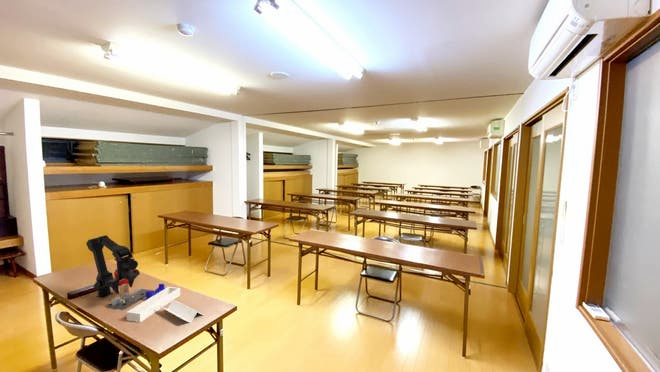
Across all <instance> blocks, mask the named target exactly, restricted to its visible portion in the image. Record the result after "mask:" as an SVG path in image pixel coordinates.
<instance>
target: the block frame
mask: <svg viewBox="0 0 660 372" xmlns="http://www.w3.org/2000/svg"><path fill="white" fill-rule="evenodd" d="M180 296H181V288H180V287H176V286H175V287H174V286H167V287H165V289H164V290H162V291H161V292H159V293H157V294H156V295H154V296H152V297H151V298H149V299H147V300H146V299H145V300H144V301H143V302H141V303H139V304H138V305H136V306H134V307H132V308H131V309H128V311H126V312H125V313H126V320H127V321H130V322H136V323H142V322H143V321H144V320H146V319H148V318H149V317H151V316H152V315H153V314H155V313H156V312H157V311H159V310H161V309H162V308H161V307H164V308H165V306H166V305H168V304H170V303H171V302H172V301H173V300H176V299H177V298H178V297H180ZM159 306H161V307H159Z"/></svg>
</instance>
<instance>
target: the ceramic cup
mask: <svg viewBox="0 0 660 372" xmlns="http://www.w3.org/2000/svg"><path fill="white" fill-rule="evenodd" d="M136 269H137V268H136ZM136 269H134V270H136ZM116 276H118V275H117V272H116V271H115V270H114V271H113V277H114V279H118V278H116ZM119 284H120V286H121V285H123V284H128V285H129V282H128V280H127V279H123V280H121V281H119Z"/></svg>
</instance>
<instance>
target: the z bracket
mask: <svg viewBox="0 0 660 372" xmlns="http://www.w3.org/2000/svg"><path fill="white" fill-rule="evenodd" d="M159 307H161V306H159ZM161 309H163V310H165V311H167V312H169V313H170V314H172V315H173V316H176V317H177V318H179V319H180V320H183V321H186V322H188V323H192V321H193V320H194V318H195V317H196V316H197V313H198V314H200V315H202V316H205V314H203V313H202V312H200V311H198V310H196V309H194V308H192V307H190V306H187V305H186V304H184V303H182V302H179V301H177V300H176V299H174V300H172V301H171V302H169V305H168V306H167V307H165V306H164V307H161Z"/></svg>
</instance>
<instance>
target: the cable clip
mask: <svg viewBox="0 0 660 372" xmlns="http://www.w3.org/2000/svg"><path fill="white" fill-rule="evenodd" d="M164 289H166V287H165V283H159V284H158V287H157V288H155V290H154V292H153V293H152V292H151V291H146V297H145V301H146V300H147V299H149V298H151V297H152V296H154V295H156V294H157V293H159V292H161V291H162V290H164Z"/></svg>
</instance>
